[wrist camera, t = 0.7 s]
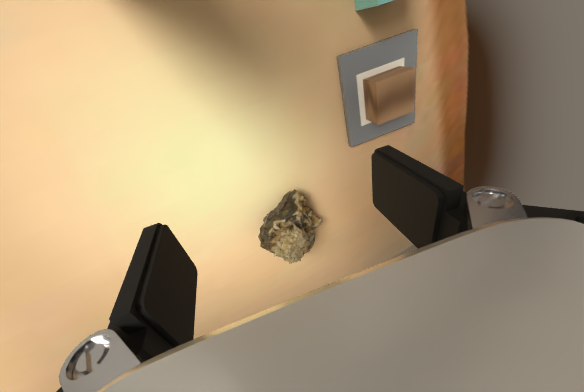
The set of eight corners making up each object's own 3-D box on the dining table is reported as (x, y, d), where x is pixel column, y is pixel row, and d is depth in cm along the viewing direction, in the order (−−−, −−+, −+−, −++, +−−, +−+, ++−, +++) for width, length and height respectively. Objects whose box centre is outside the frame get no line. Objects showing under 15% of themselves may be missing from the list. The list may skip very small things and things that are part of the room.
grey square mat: (336, 56, 39) (339, 56, 38) (413, 29, 40) (418, 28, 39) (348, 145, 48) (351, 147, 47) (410, 121, 49) (414, 122, 48)
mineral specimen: (329, 217, 56) (349, 245, 48) (289, 251, 58) (302, 283, 50) (292, 180, 48) (308, 207, 40) (246, 221, 50) (253, 254, 42)
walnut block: (362, 79, 40) (375, 82, 37) (399, 66, 41) (415, 67, 38) (365, 119, 45) (378, 125, 41) (399, 106, 45) (414, 111, 42)
